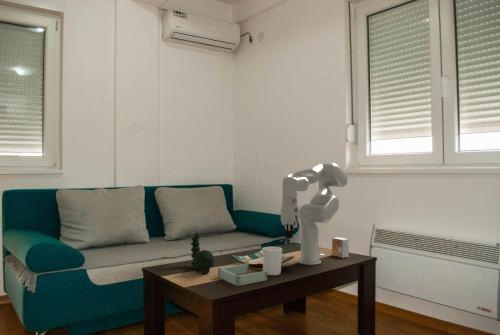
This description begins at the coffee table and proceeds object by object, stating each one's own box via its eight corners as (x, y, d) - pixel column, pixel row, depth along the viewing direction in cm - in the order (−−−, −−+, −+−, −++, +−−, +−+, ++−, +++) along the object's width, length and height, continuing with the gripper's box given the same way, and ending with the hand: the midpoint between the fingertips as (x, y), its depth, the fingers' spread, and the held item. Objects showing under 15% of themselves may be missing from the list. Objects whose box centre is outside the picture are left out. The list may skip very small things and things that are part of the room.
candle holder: (286, 273, 189) (286, 249, 189) (270, 276, 183) (270, 251, 183) (273, 269, 197) (273, 245, 197) (258, 272, 191) (258, 247, 191)
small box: (331, 255, 228) (331, 237, 228) (338, 254, 231) (338, 236, 231) (342, 258, 221) (342, 239, 221) (348, 257, 225) (348, 238, 225)
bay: (246, 271, 192) (246, 259, 192) (267, 280, 178) (267, 267, 178) (218, 276, 183) (218, 264, 183) (237, 286, 169) (237, 272, 169)
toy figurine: (186, 269, 202) (199, 277, 180) (185, 232, 204) (199, 236, 181) (203, 267, 206) (219, 275, 183) (202, 231, 208) (218, 234, 185)
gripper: (305, 202, 192) (304, 239, 191) (286, 200, 204) (285, 235, 204) (293, 202, 188) (293, 240, 187) (274, 200, 200) (274, 236, 200)
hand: (289, 237), depth 196 cm, fingers closed
